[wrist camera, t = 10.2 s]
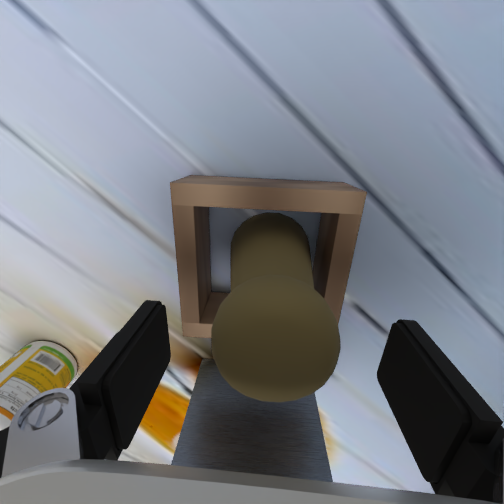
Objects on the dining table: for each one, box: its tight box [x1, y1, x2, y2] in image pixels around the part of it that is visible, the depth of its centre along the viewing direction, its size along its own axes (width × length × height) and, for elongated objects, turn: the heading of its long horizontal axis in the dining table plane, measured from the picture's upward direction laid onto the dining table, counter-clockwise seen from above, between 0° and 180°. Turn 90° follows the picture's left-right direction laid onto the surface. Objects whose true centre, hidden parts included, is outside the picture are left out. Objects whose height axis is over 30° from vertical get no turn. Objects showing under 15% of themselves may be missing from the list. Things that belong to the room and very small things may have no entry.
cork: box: [211, 213, 340, 402], centre depth 14 cm, size 6×6×11 cm
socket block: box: [170, 175, 367, 338], centre depth 17 cm, size 10×10×4 cm
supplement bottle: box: [0, 341, 77, 431], centre depth 20 cm, size 5×5×10 cm
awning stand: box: [171, 359, 333, 482], centre depth 15 cm, size 10×5×17 cm, turn 88°
